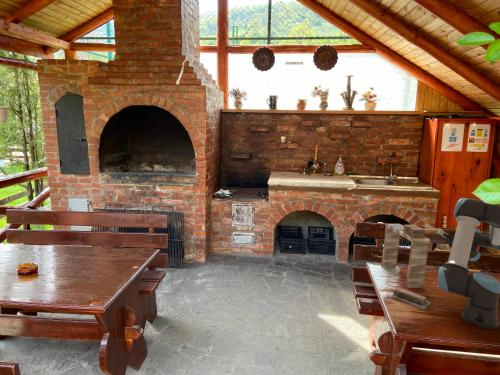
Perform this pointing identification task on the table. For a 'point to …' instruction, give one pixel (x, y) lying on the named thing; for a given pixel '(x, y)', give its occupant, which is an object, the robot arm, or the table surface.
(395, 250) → the frame
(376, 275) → the table surface
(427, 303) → the packaged product
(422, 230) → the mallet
